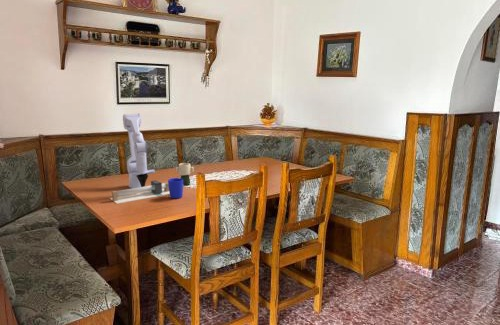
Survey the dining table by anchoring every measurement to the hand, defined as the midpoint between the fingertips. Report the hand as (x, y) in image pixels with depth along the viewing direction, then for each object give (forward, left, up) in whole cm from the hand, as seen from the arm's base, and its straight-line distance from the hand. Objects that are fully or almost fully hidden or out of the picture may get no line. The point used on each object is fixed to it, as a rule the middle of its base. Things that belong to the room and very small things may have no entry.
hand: (142, 187), depth 226 cm
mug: (+15, +13, -4) cm, 21 cm away
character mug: (-5, +29, -4) cm, 30 cm away
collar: (+3, +7, -4) cm, 9 cm away
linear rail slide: (+3, -2, -4) cm, 6 cm away
